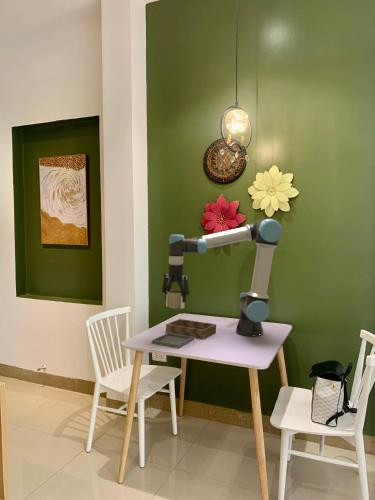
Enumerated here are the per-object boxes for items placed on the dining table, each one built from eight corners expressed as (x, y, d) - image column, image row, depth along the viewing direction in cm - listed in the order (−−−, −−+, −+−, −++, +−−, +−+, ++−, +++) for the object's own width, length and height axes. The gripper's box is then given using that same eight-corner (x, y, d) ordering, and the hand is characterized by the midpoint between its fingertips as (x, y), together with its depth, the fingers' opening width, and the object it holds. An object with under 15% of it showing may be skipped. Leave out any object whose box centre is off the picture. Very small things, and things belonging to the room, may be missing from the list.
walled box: (216, 333, 219) (216, 324, 219) (203, 339, 206) (204, 330, 206) (179, 327, 231) (179, 318, 231) (166, 333, 218) (166, 324, 218)
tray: (194, 340, 205) (194, 337, 205) (178, 348, 191) (178, 345, 191) (168, 335, 213) (168, 332, 213) (151, 343, 199) (151, 340, 199)
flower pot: (185, 306, 207) (185, 290, 207) (182, 310, 198) (183, 293, 198) (167, 305, 209) (168, 289, 208) (164, 309, 199) (165, 292, 199)
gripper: (197, 265, 200) (196, 308, 201) (163, 262, 210) (162, 303, 212) (189, 266, 193) (188, 311, 195) (155, 263, 204) (154, 305, 205)
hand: (175, 307), depth 203 cm, fingers closed on flower pot, 8 cm apart
